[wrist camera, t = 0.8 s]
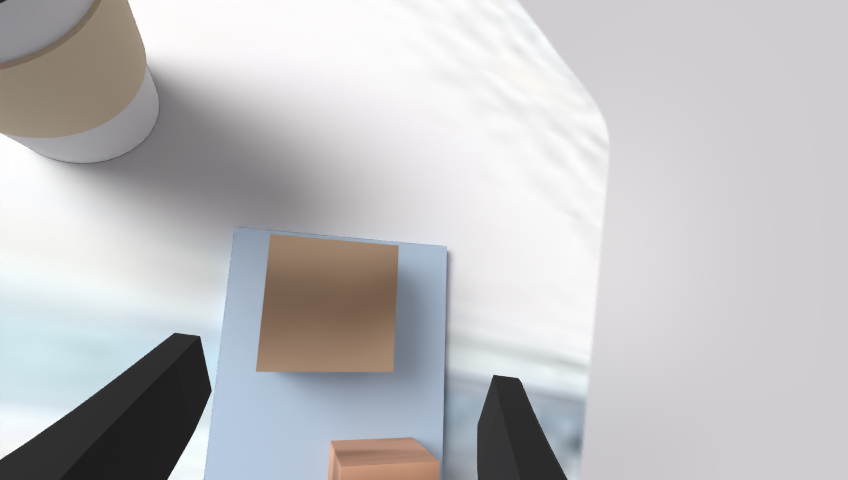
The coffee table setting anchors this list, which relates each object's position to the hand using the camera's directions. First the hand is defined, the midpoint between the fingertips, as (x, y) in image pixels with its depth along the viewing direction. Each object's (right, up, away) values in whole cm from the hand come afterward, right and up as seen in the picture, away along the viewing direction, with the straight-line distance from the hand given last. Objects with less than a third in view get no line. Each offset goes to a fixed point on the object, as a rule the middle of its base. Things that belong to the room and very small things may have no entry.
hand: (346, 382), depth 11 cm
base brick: (-4, 0, +13) cm, 14 cm away
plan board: (-3, -5, +13) cm, 14 cm away
